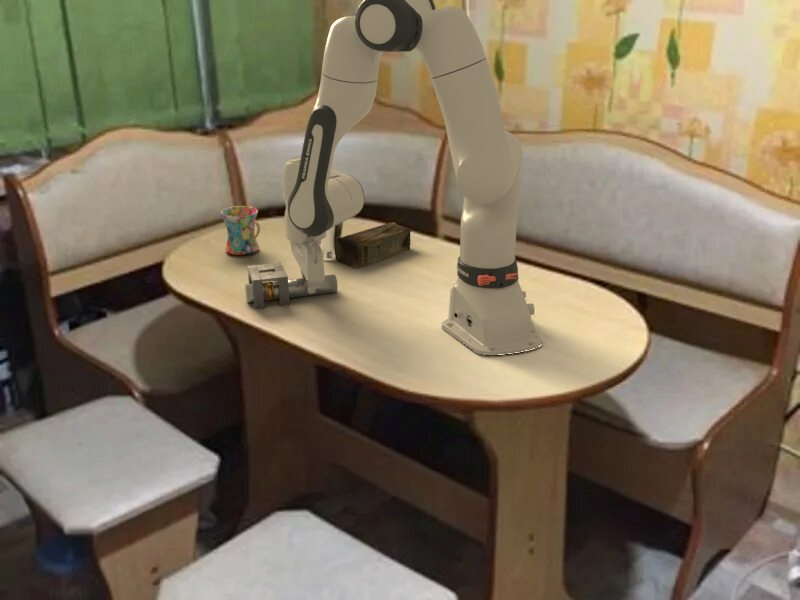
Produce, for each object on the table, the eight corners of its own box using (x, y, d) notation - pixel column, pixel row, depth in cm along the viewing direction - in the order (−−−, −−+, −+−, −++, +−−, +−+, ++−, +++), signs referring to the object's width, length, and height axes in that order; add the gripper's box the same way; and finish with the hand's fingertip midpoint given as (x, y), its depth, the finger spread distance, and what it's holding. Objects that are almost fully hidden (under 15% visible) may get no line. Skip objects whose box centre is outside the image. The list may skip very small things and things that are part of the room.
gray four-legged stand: (289, 305, 193) (287, 276, 191) (255, 309, 192) (252, 280, 189) (282, 290, 201) (280, 262, 199) (249, 293, 199) (247, 266, 197)
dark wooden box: (412, 250, 226) (412, 226, 223) (357, 271, 213) (356, 245, 210) (390, 243, 231) (389, 219, 228) (335, 262, 218) (334, 237, 215)
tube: (333, 288, 202) (333, 271, 201) (337, 294, 198) (337, 277, 197) (245, 299, 197) (244, 281, 195) (248, 305, 193) (246, 287, 192)
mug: (216, 252, 225) (212, 212, 221) (245, 242, 231) (241, 203, 227) (246, 263, 218) (243, 221, 213) (275, 253, 224) (272, 212, 220)
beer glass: (347, 252, 224) (345, 195, 218) (343, 262, 217) (341, 203, 211) (320, 252, 224) (317, 194, 218) (315, 261, 218) (312, 203, 212)
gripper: (330, 242, 184) (332, 303, 190) (311, 214, 202) (314, 270, 208) (300, 245, 183) (303, 307, 188) (283, 216, 201) (287, 273, 206)
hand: (309, 287), depth 198 cm, fingers closed on tube, 4 cm apart
